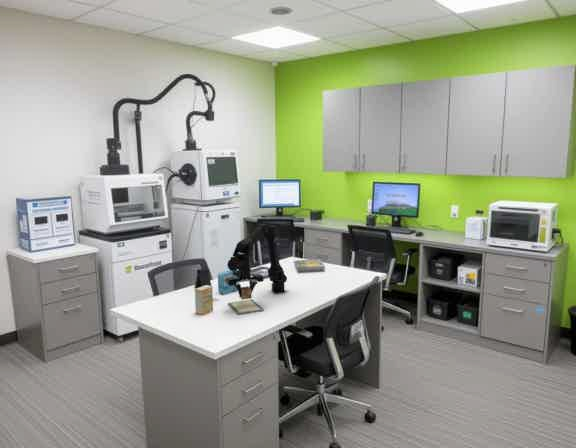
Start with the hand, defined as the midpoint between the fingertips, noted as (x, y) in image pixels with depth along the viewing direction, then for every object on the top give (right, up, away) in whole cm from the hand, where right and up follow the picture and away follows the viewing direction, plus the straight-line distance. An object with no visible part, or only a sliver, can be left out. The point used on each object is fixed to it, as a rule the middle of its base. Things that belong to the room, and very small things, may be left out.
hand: (245, 295), depth 236 cm
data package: (-12, -2, +28) cm, 31 cm away
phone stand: (-28, -1, +35) cm, 45 cm away
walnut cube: (0, -1, 0) cm, 1 cm away
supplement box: (-20, -8, -6) cm, 22 cm away
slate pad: (0, -6, +1) cm, 6 cm away
